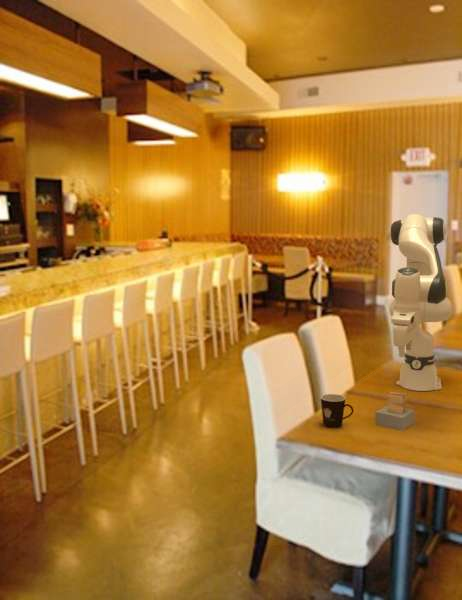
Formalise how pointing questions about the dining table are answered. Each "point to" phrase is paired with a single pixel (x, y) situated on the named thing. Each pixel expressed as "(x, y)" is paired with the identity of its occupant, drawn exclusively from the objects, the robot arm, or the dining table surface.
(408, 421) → the block
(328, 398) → the coffee mug
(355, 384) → the dining table surface
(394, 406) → the oak cube
